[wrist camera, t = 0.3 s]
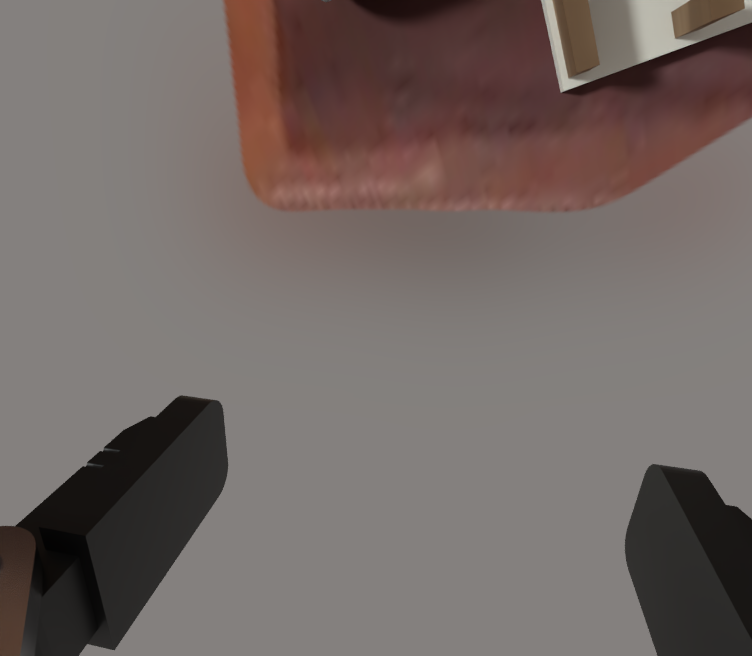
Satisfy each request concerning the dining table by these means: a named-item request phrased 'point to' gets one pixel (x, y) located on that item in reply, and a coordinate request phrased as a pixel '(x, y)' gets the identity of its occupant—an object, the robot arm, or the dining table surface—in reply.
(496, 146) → the dining table surface
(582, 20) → the walnut frame
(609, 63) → the peg stand
